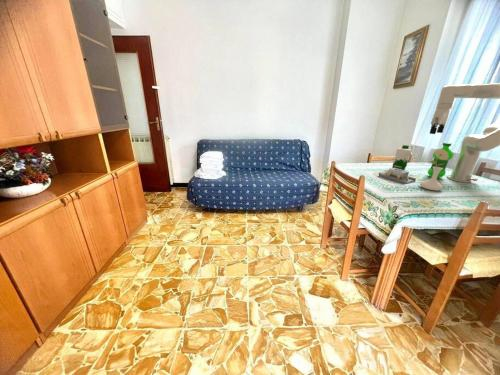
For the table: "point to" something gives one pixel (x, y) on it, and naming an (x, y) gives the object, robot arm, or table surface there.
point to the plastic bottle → (441, 161)
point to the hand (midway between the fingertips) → (435, 133)
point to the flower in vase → (435, 172)
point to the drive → (398, 173)
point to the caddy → (407, 180)
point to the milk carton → (401, 157)
